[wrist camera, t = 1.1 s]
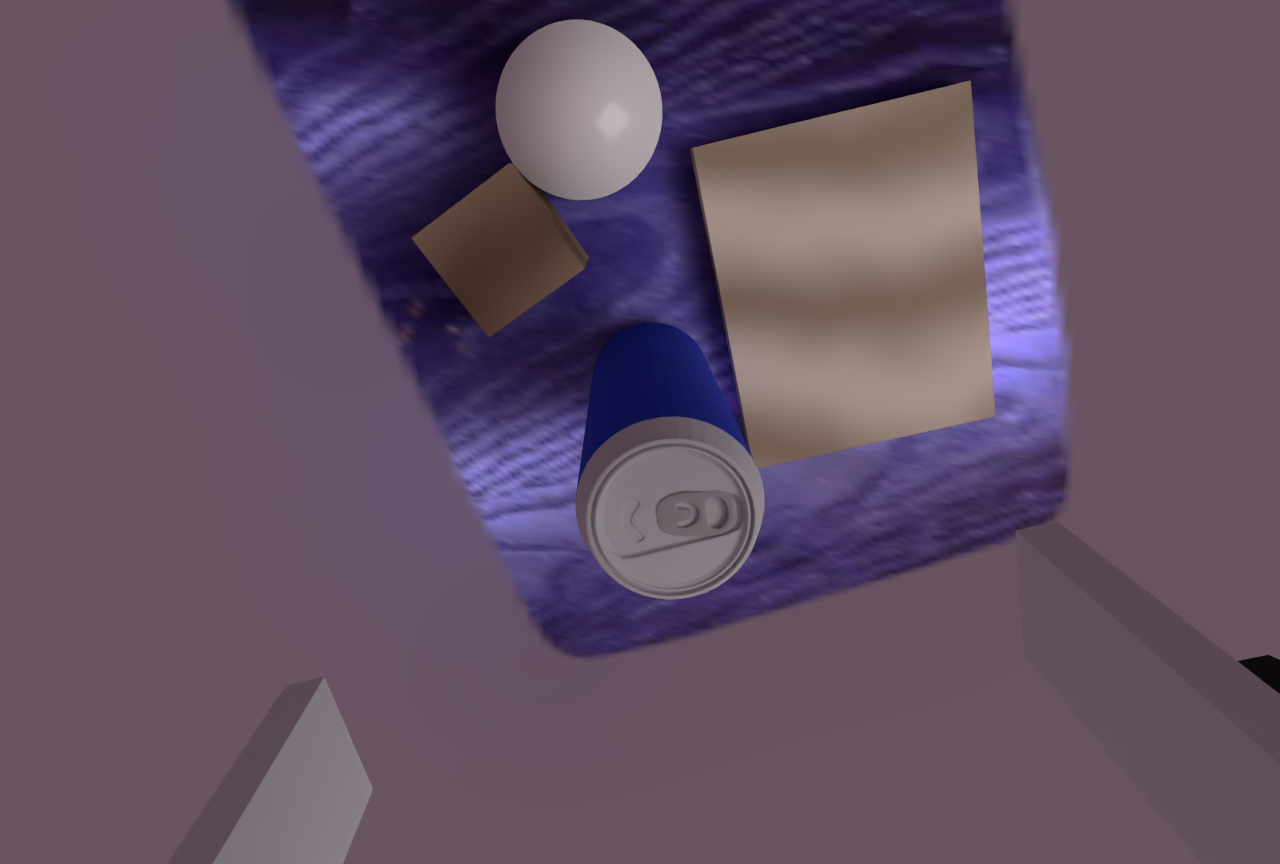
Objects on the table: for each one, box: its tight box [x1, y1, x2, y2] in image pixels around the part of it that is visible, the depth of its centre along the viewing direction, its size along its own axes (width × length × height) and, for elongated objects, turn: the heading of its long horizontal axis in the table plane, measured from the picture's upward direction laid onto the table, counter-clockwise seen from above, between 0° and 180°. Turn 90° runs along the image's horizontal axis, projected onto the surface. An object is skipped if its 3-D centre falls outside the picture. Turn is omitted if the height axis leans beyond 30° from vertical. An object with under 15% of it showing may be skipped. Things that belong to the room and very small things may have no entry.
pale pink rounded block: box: [496, 20, 662, 200], centre depth 29 cm, size 6×6×4 cm
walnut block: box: [412, 163, 589, 338], centre depth 30 cm, size 4×4×4 cm
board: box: [690, 81, 995, 468], centre depth 32 cm, size 14×11×1 cm
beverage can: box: [576, 323, 765, 599], centre depth 26 cm, size 5×5×15 cm
